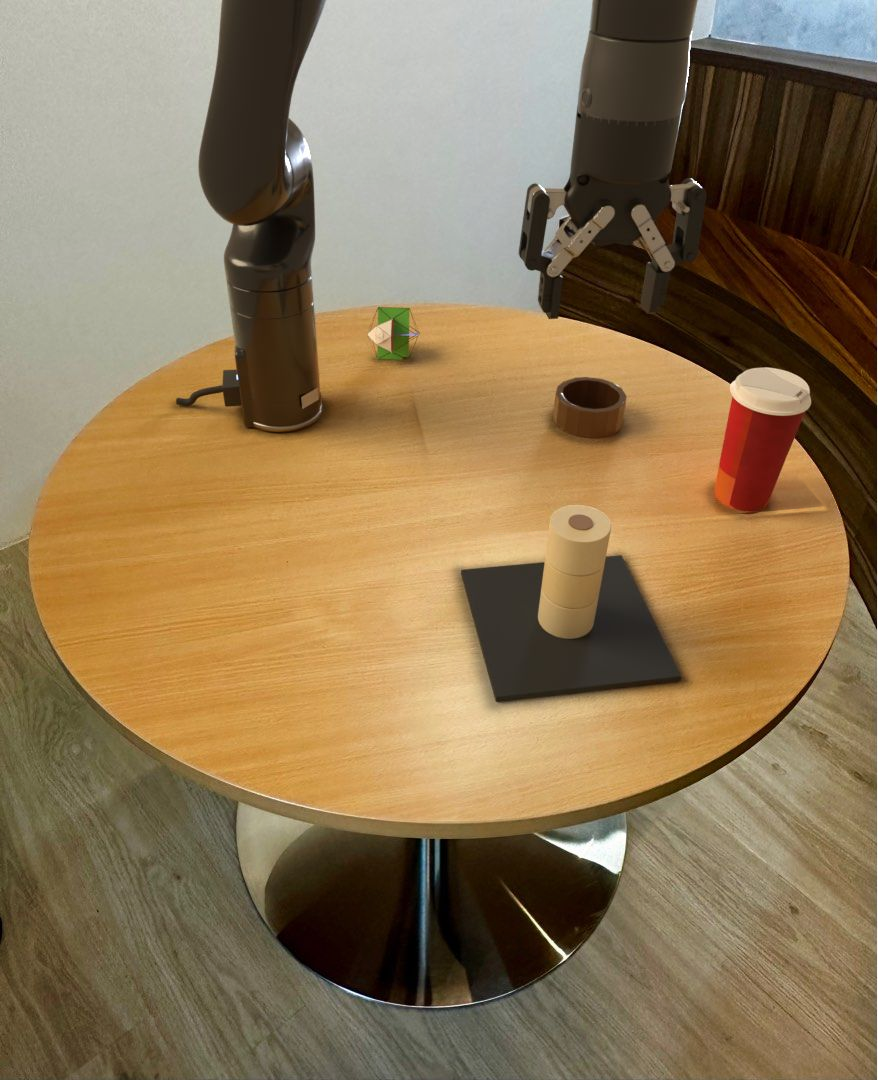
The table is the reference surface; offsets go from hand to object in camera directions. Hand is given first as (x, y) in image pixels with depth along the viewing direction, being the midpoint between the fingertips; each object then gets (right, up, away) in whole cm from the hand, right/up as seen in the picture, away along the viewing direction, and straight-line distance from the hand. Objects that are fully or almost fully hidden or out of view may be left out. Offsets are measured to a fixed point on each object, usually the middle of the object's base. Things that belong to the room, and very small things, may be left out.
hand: (599, 312), depth 74 cm
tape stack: (-2, -26, +5) cm, 27 cm away
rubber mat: (-2, -27, +5) cm, 27 cm away
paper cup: (+19, -15, +21) cm, 32 cm away
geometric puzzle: (-20, +5, +45) cm, 49 cm away
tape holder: (+4, -5, +32) cm, 33 cm away
